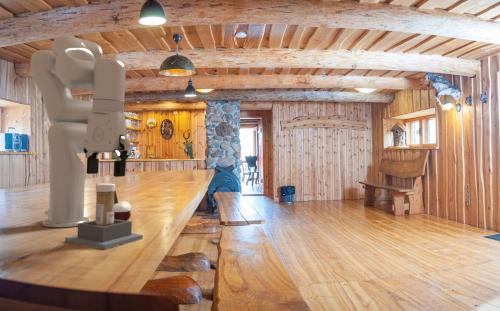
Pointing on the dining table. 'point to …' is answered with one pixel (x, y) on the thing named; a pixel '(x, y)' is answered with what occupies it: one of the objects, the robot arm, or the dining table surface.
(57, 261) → the dining table surface
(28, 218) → the dining table surface
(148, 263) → the dining table surface
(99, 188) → the sprinkles bottle
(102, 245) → the bottle stand
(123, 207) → the cocoa
